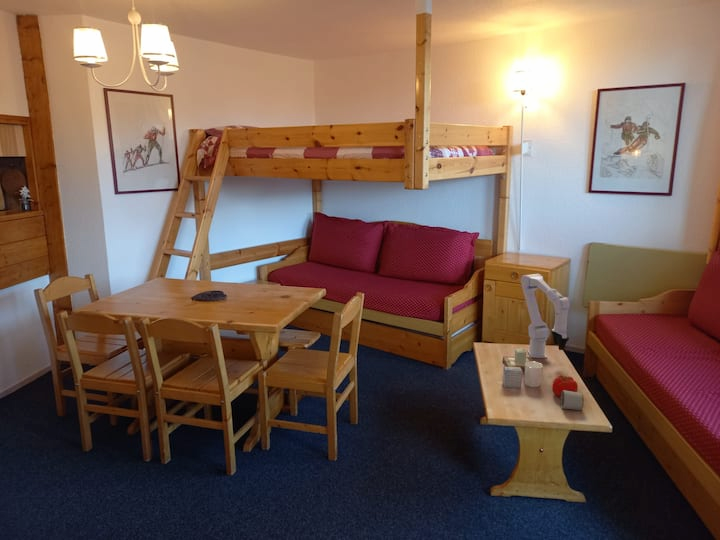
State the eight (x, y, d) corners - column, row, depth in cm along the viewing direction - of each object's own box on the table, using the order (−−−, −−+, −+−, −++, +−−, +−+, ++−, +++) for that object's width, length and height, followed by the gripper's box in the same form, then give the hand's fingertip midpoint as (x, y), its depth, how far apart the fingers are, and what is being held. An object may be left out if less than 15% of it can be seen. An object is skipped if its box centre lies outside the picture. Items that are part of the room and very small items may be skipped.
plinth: (502, 360, 271) (503, 356, 270) (529, 360, 270) (530, 356, 269) (508, 371, 257) (508, 367, 256) (537, 372, 256) (537, 367, 256)
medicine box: (519, 384, 243) (520, 366, 241) (521, 388, 239) (522, 370, 237) (502, 383, 244) (503, 366, 242) (503, 387, 240) (505, 370, 238)
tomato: (581, 400, 227) (583, 381, 225) (559, 402, 226) (560, 383, 224) (568, 389, 238) (569, 372, 236) (546, 391, 236) (547, 373, 234)
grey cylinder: (583, 413, 216) (585, 396, 214) (563, 411, 217) (564, 394, 216) (578, 402, 226) (579, 385, 224) (558, 400, 228) (560, 384, 226)
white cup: (520, 384, 243) (522, 364, 240) (528, 379, 248) (529, 359, 246) (536, 389, 238) (538, 369, 235) (544, 384, 243) (545, 364, 241)
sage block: (514, 359, 265) (515, 348, 264) (523, 360, 265) (524, 349, 264) (516, 363, 261) (517, 352, 259) (525, 363, 260) (526, 352, 259)
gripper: (548, 316, 265) (546, 341, 268) (557, 325, 251) (555, 352, 254) (562, 316, 265) (560, 341, 268) (572, 326, 251) (569, 352, 254)
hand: (558, 347), depth 261 cm, fingers open, 7 cm apart
